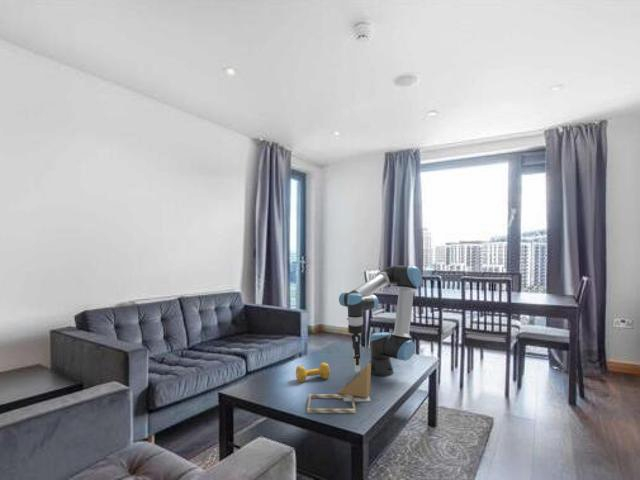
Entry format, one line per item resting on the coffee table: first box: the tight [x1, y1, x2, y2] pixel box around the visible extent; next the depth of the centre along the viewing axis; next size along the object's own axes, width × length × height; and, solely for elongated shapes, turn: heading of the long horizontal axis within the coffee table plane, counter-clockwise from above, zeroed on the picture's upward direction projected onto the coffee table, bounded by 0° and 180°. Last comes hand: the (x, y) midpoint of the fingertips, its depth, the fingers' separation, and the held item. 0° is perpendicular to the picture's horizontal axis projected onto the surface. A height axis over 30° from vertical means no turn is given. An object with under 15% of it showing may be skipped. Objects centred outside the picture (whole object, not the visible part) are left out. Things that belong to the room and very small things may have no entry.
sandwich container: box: [337, 363, 372, 397], centre depth 184 cm, size 9×15×15 cm, turn 69°
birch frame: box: [306, 393, 357, 414], centre depth 173 cm, size 22×17×2 cm
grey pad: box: [342, 394, 371, 403], centre depth 183 cm, size 13×13×1 cm
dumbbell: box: [295, 362, 331, 383], centre depth 207 cm, size 19×9×8 cm, turn 111°
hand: (356, 366), depth 183 cm, fingers open, 13 cm apart
